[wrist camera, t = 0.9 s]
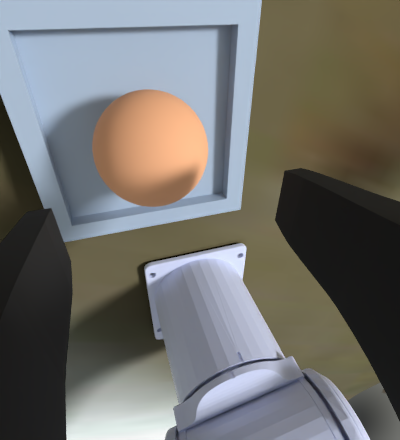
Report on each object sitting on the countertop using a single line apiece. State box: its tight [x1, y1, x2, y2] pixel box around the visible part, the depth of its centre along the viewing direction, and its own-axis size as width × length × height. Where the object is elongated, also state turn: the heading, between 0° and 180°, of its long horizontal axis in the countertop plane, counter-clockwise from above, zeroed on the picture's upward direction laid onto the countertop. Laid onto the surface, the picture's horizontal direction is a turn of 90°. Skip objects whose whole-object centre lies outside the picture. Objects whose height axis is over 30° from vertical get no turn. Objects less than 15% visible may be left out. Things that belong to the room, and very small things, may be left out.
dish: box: [0, 0, 262, 242], centre depth 15 cm, size 11×11×2 cm
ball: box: [92, 89, 208, 207], centre depth 13 cm, size 5×5×5 cm
